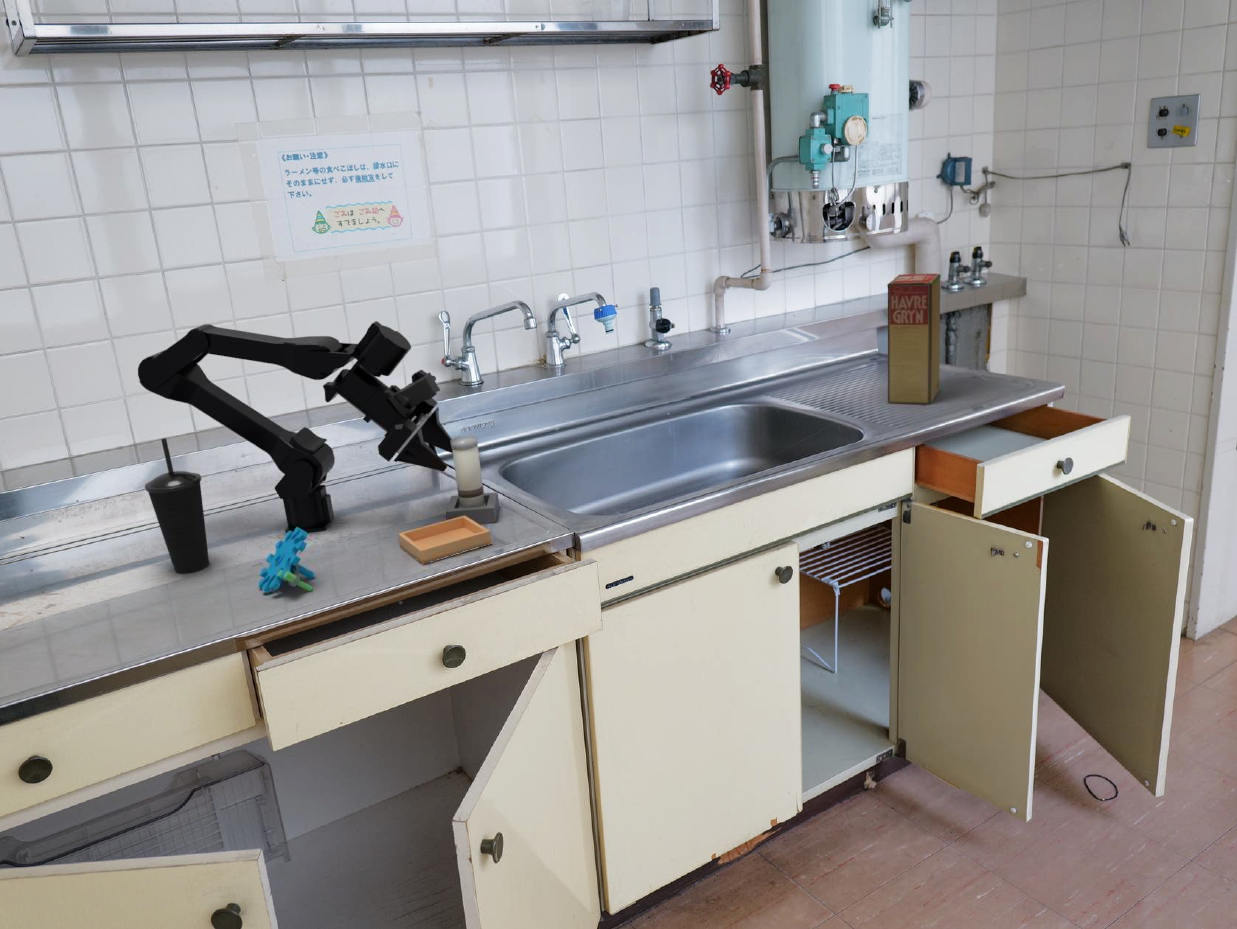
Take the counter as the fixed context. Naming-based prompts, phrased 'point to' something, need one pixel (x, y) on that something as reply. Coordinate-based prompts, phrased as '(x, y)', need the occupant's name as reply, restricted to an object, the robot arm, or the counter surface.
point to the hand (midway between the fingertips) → (451, 460)
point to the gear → (286, 563)
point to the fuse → (468, 471)
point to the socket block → (475, 509)
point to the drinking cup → (180, 516)
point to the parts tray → (443, 539)
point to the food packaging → (913, 338)
